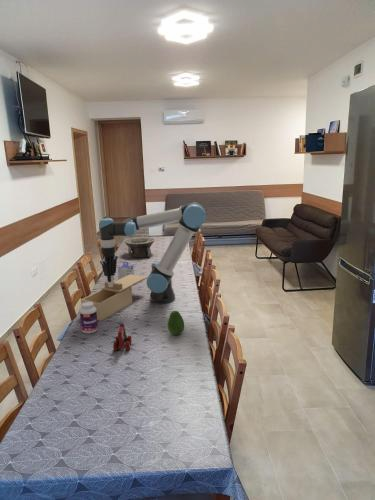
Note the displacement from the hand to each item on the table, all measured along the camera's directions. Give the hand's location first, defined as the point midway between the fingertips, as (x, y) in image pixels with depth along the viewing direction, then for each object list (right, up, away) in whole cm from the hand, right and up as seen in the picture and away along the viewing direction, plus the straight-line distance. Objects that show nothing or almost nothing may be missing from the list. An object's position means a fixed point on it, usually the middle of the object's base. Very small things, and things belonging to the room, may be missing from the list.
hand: (111, 286), depth 208 cm
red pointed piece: (+14, -23, -42) cm, 50 cm away
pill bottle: (-5, -20, -26) cm, 33 cm away
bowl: (+2, +15, +113) cm, 114 cm away
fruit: (+38, -20, -31) cm, 53 cm away
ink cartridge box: (+1, -2, +44) cm, 44 cm away
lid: (+6, +1, +11) cm, 13 cm away
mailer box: (-1, -13, -1) cm, 13 cm away
